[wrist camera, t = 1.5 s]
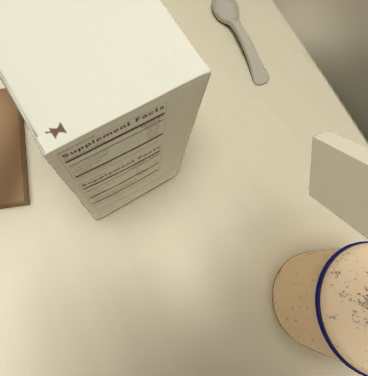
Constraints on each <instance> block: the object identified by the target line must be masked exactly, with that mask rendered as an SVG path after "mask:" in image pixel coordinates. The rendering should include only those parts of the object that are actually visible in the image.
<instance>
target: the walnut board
mask: <svg viewBox="0 0 368 376" xmlns="http://www.w3.org/2000/svg"><path fill="white" fill-rule="evenodd" d="M23 205H30V202H29V189H28V175H27V162H26V148H25V134H24V121H23V117H22V115H21V114H20V112H19V110H18V108H17V107H16V105H15V103H14V102H13V100H12V98H11V96H10V95H9V93H8V91H7V89H0V209H2V208H9V207H16V206H23Z"/></svg>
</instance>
